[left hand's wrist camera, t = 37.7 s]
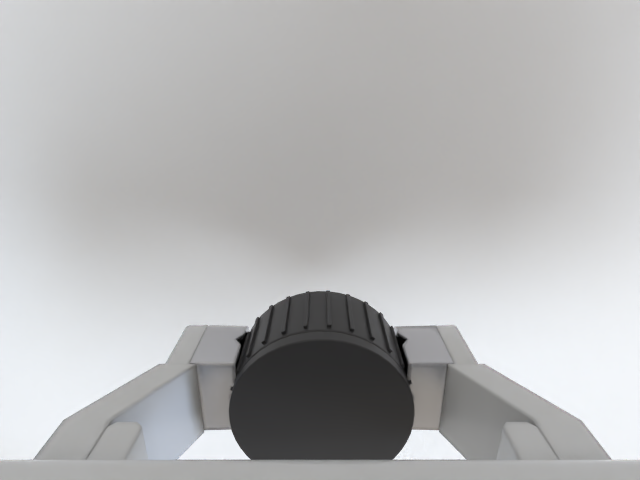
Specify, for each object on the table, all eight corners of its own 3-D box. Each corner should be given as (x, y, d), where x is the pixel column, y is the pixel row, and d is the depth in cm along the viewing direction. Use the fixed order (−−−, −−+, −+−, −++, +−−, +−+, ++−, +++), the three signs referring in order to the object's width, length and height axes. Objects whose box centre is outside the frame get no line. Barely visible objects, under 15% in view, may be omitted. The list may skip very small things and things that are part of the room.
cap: (233, 291, 10) (213, 341, 8) (402, 285, 10) (421, 333, 8) (251, 421, 11) (237, 490, 9) (398, 416, 11) (414, 485, 9)
